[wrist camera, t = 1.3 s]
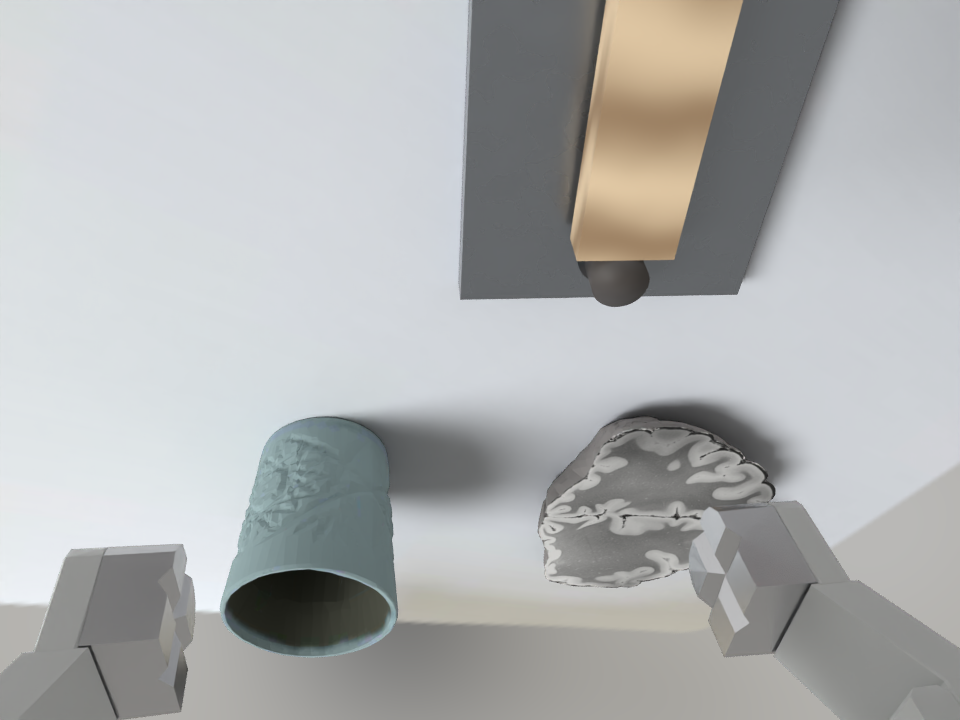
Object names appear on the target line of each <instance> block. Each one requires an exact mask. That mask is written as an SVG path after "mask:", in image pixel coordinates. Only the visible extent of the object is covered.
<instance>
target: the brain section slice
mask: <svg viewBox="0 0 960 720" xmlns="http://www.w3.org/2000/svg"><path fill="white" fill-rule="evenodd" d="M767 477H768V475H767V471H766V470H765V469H764V468H763V467H762V466H760V465H759V464H758V463H755V462H752V461H749V460H745V456H744V455H743V453H742V452H741V451H740V450H738V449H737V448H735V447H733V446H731V445H728V444H727V443H726V442H725V440H723V439H722V438H720V437H719V436H717V435H715V434H712V433H710V432H709V431H706V430H704V429H701V428H698V427H696V426H693V425H689V424H685V423H681V422H674V421H659V420H658V419H656V418H653V417H649V416H641V417H636V418H632V419H623V420H619V421H616V422H614V423H612V424H609V425H607V427H606V426H605V427H603V428H601V429H600V430H599V432H598V433H597V435H596V436H595V437H594V438H593V440H592V441H591V443H590V444H589V445H588V446H587V447H586V448H585V449H584V450H583V451H582V452H581V453H580V454H579V455H578V456H577V458H576V459H575V460H574V461H573V462H572V463H570V464H569V465H568V467H567V468H566V469H565V470H564V471H563V473H562V474H561V475H560V476H559V477H557V478H556V479H555V480H554V481H553V483H552V484H551V486H550V487H549V489H548V490H547V496H546V499H545V500H544V502H543V505H542V509H541V513H540V518H539V523H538V534H539V536H540V538H541V539H542V541H543V545H544V548H545V551H544V567H545V573H544V575H545V577H546V579H548V580H549V581H552V582H557V583H560V584H565V585H571V586H592V587H609V588H618V587H634V586H637V585H639V584H640V583H641V582H643V581H650V580H654V579H658V578H663V577H668V576H670V575H671V574H674V573H675V572H677V571H682V570H687V569H689V552H690V549H691V546H692V542H693V540H694V539H695V538H697V537H698V536H699V535H700V534H702V533H703V532H704V531H703V528H702V526H701V524H700V520H701V518H702V515H703V512H704V511H705V510H706V509H707V508H709V507H713V506H725V505H737V504H750V503H762V502H763V503H768V502H769V501H770V500H771V499H773V497H774V496H775V488H774V486H773V485H772V484H771V483H769V482H768V481H766V478H767Z"/></svg>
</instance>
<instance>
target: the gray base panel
mask: <svg viewBox="0 0 960 720" xmlns="http://www.w3.org/2000/svg"><path fill="white" fill-rule="evenodd" d="M838 3H839V0H743V3H742V7H741V10H740V14H739V18H738V22H737V25H736V29H735V33H734V37H733V41H732V44H731V48H730V52H729V56H728V59H727V63H726V67H725V71H724V74H723V78H722V82H721V86H720V89H719V93H718V97H717V101H716V104H715V108H714V112H713V116H712V120H711V123H710V127H709V131H708V135H707V138H706V142H705V146H704V150H703V153H702V157H701V161H700V165H699V168H698V172H697V176H696V180H695V183H694V187H693V191H692V195H691V198H690V202H689V206H688V210H687V214H686V217H685V221H684V225H683V229H682V232H681V236H680V240H679V244H678V247H677V251H676V255H675V259H674V260H643V261H644V263H645V266H646V268H647V271H648V273H649V277H650V281H649V286H648V288H647V290H646V292H645V293H644V294H643V295H642V296H683V295H737V294H738V291H739V289H740V286H741V283H742V280H743V277H744V274H745V271H746V268H747V265H748V263H749V260H750V257H751V254H752V251H753V248H754V245H755V242H756V239H757V237H758V234H759V231H760V228H761V225H762V222H763V219H764V216H765V213H766V211H767V208H768V205H769V202H770V199H771V196H772V193H773V190H774V187H775V185H776V182H777V179H778V176H779V173H780V170H781V167H782V164H783V161H784V159H785V156H786V153H787V150H788V147H789V144H790V141H791V138H792V135H793V133H794V130H795V127H796V124H797V121H798V118H799V115H800V112H801V109H802V107H803V104H804V101H805V98H806V95H807V92H808V89H809V86H810V83H811V81H812V78H813V75H814V72H815V69H816V66H817V63H818V60H819V57H820V55H821V52H822V49H823V46H824V43H825V40H826V37H827V34H828V31H829V29H830V26H831V23H832V20H833V17H834V14H835V11H836V8H837V5H838ZM605 4H606V0H469V14H468V41H467V68H466V95H465V122H464V149H463V177H462V204H461V231H460V258H459V291H460V300H464V299H519V298H573V297H594V295H593V293H592V289H591V286H590V283H589V280H588V276H587V273H586V270H585V261H577V260H576V256H575V253H574V250H573V246H572V243H571V240H570V235H571V229H572V222H573V216H574V209H575V202H576V196H577V189H578V182H579V176H580V169H581V163H582V156H583V149H584V143H585V136H586V130H587V123H588V116H589V110H590V103H591V97H592V90H593V83H594V77H595V70H596V64H597V57H598V50H599V44H600V37H601V30H602V24H603V17H604V11H605Z"/></svg>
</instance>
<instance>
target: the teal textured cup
mask: <svg viewBox="0 0 960 720" xmlns="http://www.w3.org/2000/svg"><path fill="white" fill-rule="evenodd" d="M389 487H390V478H389V464H388V455H387V452H386V449H385V447H384V445H383V443H382V441H381V440H380V439H379V438H378V437H377V436H376V435H375V434H374V433H373V432H372V431H370V430H369V429H367V428H365V427H364V426H362V425H360V424H357V423H355V422H352V421H348V420H344V419H340V418H332V417H315V418H308V419H303V420H299V421H295V422H293V423H290V424H288V425H286V426H284V427H282V428H281V429H279V430H278V431H276V432H275V433H274V434H273V435H272V436H271V437H270V438H269V440H268V442H267V443H266V445H265V447H264V449H263V452H262V455H261V459H260V462H259V467H258V471H257V476H256V479H255V484H254V486H253V489H252V494H251V496H250V500H249V502H250V505H249V508H248V509H247V510H246V515H245V518H246V519H245V520H244V522H243V524H242V530H241V533H240V536H239V541H238V549H239V550H238V554H237V556H236V557H235V559H234V560H233V562H232V566H231V569H230V572H229V576H228V579H227V583H226V586H225V590H224V593H223V596H222V600H221V604H220V611H221V617H222V620H223V622H224V624H225V625H226V627H227V629H228V630H229V631H230V632H231V633H233V634H234V635H235V636H236V637H237V638H239V639H241V640H242V641H244V642H246V643H248V644H250V645H253V646H255V647H257V648H260V649H263V650H265V651H268V652H273V653H277V654H281V655H287V656H297V657H327V656H336V655H341V654H346V653H350V652H355V651H358V650H361V649H363V648H366V647H369V646H370V645H372V644H374V643H376V642H378V641H380V640H381V639H382V638H383V637H384V636H386V635H387V634H388V633H389V632H390V631H391V630H392V628H393V627H394V625H395V623H396V620H397V618H398V605H397V594H396V582H395V572H394V563H393V560H394V554H393V545H392V537H393V523H392V519H391V518H392V508H391V504H390V498H389V496H388V495H387V494H388V489H389Z"/></svg>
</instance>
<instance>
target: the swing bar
mask: <svg viewBox="0 0 960 720" xmlns="http://www.w3.org/2000/svg"><path fill="white" fill-rule="evenodd" d="M742 3H743V0H606V4H605V11H604V17H603V24H602V30H601V37H600V44H599V50H598V57H597V64H596V70H595V77H594V83H593V90H592V97H591V103H590V110H589V116H588V123H587V130H586V136H585V143H584V149H583V156H582V163H581V169H580V176H579V182H578V189H577V196H576V202H575V209H574V216H573V222H572V229H571V235H570V240H571V243H572V246H573V250H574V253H575V256H576V260H577V261H585V270H586V273H587V276H588V280H589V283H590V286H591V289H592V293H593V295H594V297H595V299H596V300H597V301H599V302H600V303H602V304H604V305H606V306H611V307H620V306H625V305H628V304H631V303H633V302H634V301H636V300H638V299H639V298H640V297H641V296H642V295H643V294H644V293H645V292H646V290H647V288H648V286H649V281H650V277H649V273H648V271H647V268H646V266H645V263H644V261H643V260H674V259H675V255H676V251H677V247H678V244H679V240H680V236H681V232H682V229H683V225H684V221H685V217H686V214H687V210H688V206H689V202H690V198H691V195H692V191H693V187H694V183H695V180H696V176H697V172H698V168H699V165H700V161H701V157H702V153H703V150H704V146H705V142H706V138H707V135H708V131H709V127H710V123H711V120H712V116H713V112H714V108H715V104H716V101H717V97H718V93H719V89H720V86H721V82H722V78H723V74H724V71H725V67H726V63H727V59H728V56H729V52H730V48H731V44H732V41H733V37H734V33H735V29H736V25H737V22H738V18H739V14H740V10H741V7H742Z"/></svg>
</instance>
